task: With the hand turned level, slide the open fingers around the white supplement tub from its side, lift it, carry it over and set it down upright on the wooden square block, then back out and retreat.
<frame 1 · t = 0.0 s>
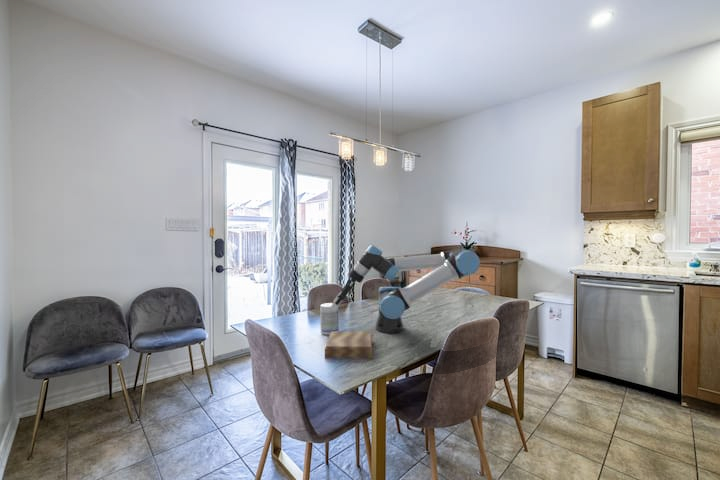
hand: (333, 305, 156), 16 cm above the table, tool tilted 35°, fingers open, 13 cm apart
supplement tub: (329, 332, 163), on the table, touching gripper
wooden square block: (349, 349, 139), on the table
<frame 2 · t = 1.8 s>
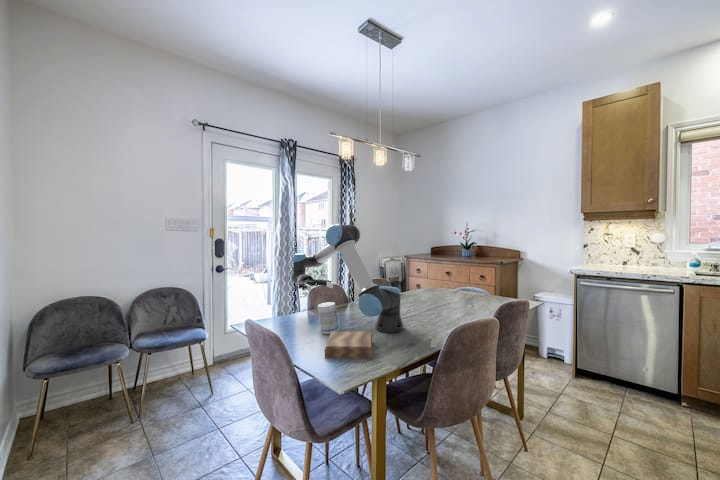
hand: (321, 287, 169), 23 cm above the table, tool horizontal, fingers open, 13 cm apart
supplement tub: (329, 331, 163), on the table
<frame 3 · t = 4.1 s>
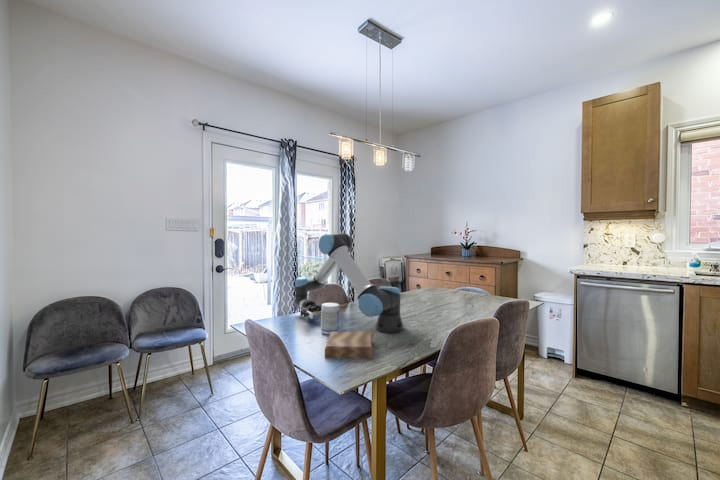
hand: (323, 314, 168), 8 cm above the table, tool horizontal, fingers open, 13 cm apart
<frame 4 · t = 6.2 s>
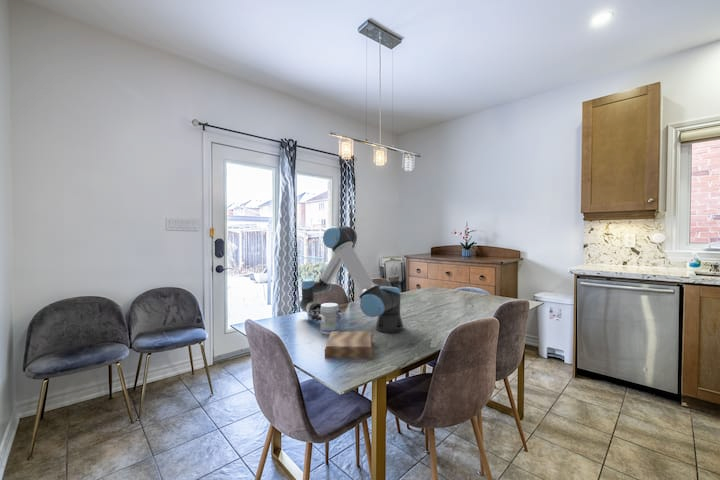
hand: (333, 318, 159), 8 cm above the table, tool horizontal, fingers closed on supplement tub, 9 cm apart
supplement tub: (329, 332, 163), on the table, touching gripper
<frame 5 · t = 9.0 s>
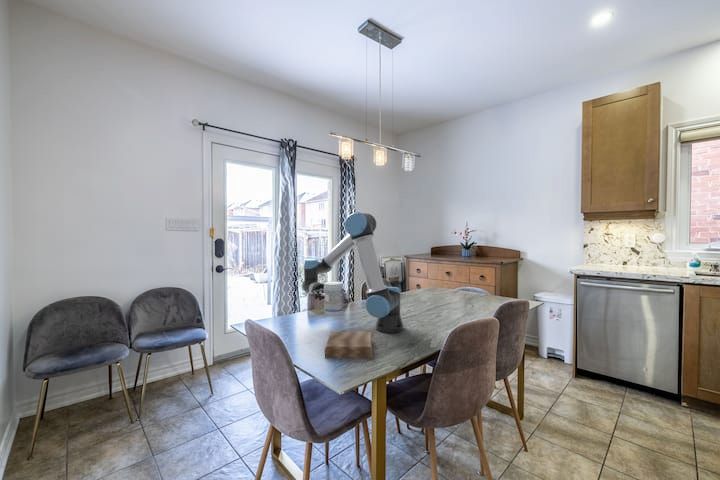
hand: (338, 297, 146), 22 cm above the table, tool horizontal, fingers closed on supplement tub, 9 cm apart
supplement tub: (333, 313, 150), point 13 cm above the table, touching gripper
when the fingers open (15 cm above the table, at t = 12.0 s): supplement tub drops 2 cm, resting on wooden square block.
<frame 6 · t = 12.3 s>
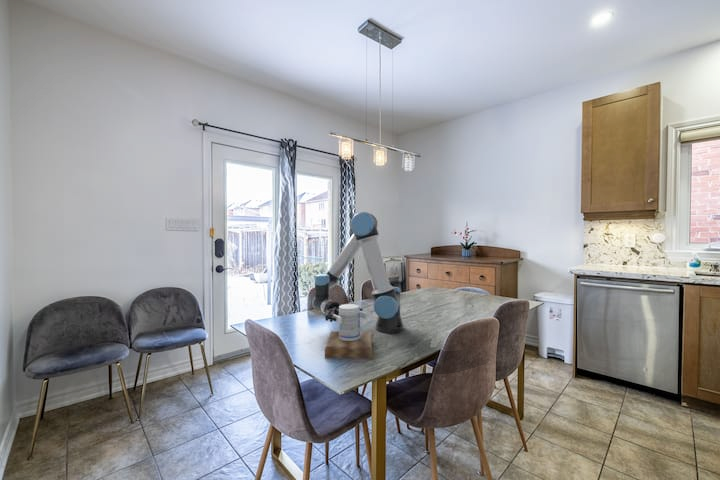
hand: (353, 318, 136), 15 cm above the table, tool horizontal, fingers open, 12 cm apart
supplement tub: (349, 338, 139), point 5 cm above the table, touching wooden square block
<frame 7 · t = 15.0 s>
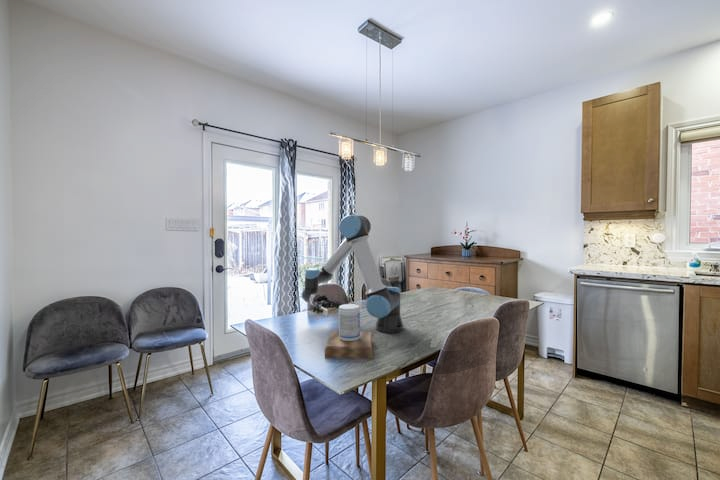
hand: (339, 311, 148), 15 cm above the table, tool horizontal, fingers open, 13 cm apart
nothing on the table moved.
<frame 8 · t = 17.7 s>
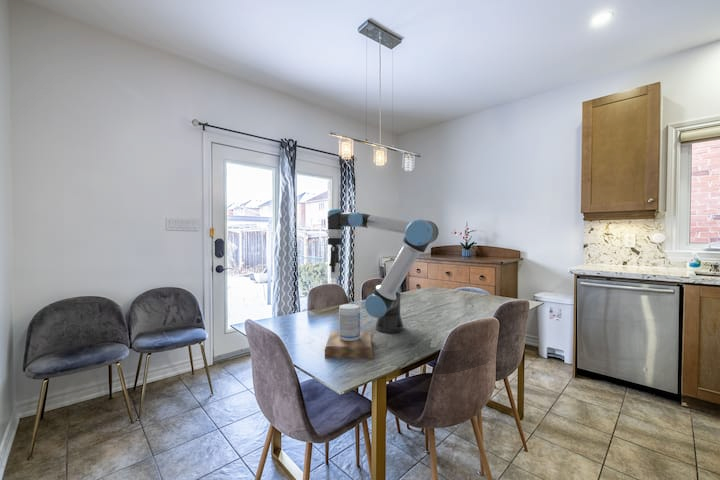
hand: (334, 276, 169), 29 cm above the table, tool pointing down, fingers open, 13 cm apart
nothing on the table moved.
at the end: supplement tub inside the target area on the wooden square block (0.1 cm from its centre), point 4.8 cm above the wooden square block's base; supplement tub tilted 0°; the gripper is holding nothing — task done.
